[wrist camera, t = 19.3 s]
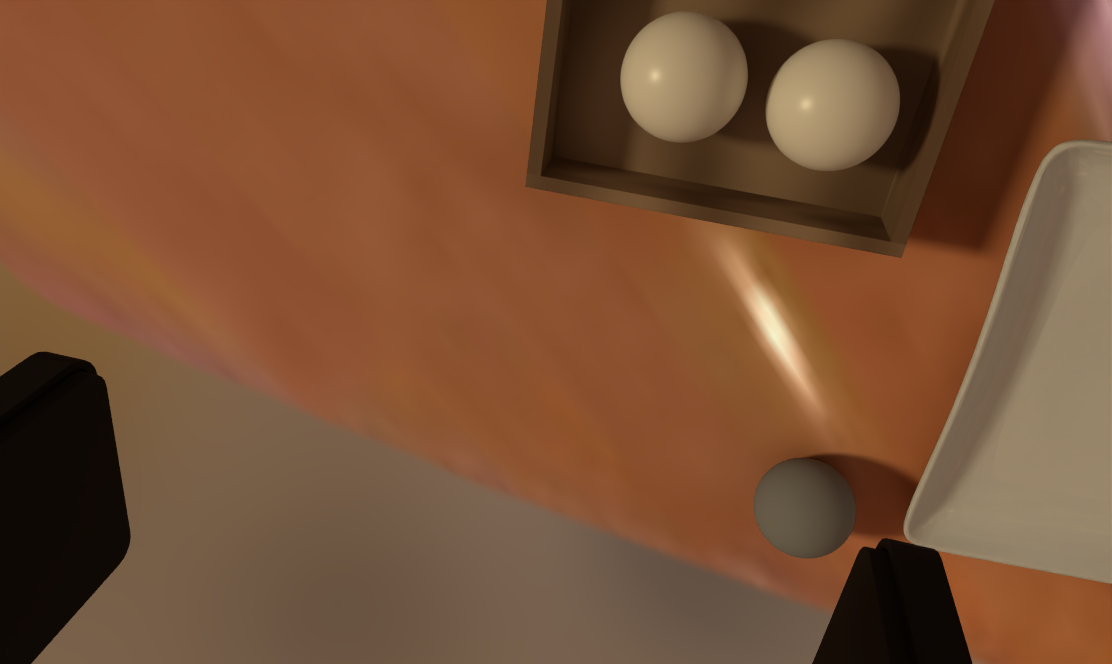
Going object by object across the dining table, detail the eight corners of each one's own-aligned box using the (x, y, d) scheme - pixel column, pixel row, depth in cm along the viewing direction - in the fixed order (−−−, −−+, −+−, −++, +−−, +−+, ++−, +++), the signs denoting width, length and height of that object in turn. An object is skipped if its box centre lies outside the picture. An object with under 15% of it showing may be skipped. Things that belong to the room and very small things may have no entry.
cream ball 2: (903, 38, 34) (932, 65, 30) (865, 158, 36) (886, 199, 32) (778, 18, 34) (789, 42, 30) (749, 138, 37) (754, 176, 32)
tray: (980, -37, 33) (1004, -26, 30) (888, 227, 38) (901, 257, 35) (573, -99, 34) (557, -96, 31) (541, 162, 40) (525, 186, 37)
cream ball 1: (697, 121, 38) (753, 161, 34) (593, 118, 36) (640, 159, 32) (722, 3, 35) (787, 31, 31) (612, -6, 34) (665, 22, 30)
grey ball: (862, 450, 44) (876, 513, 40) (834, 522, 46) (844, 589, 42) (765, 429, 44) (768, 490, 40) (743, 502, 47) (743, 566, 42)
